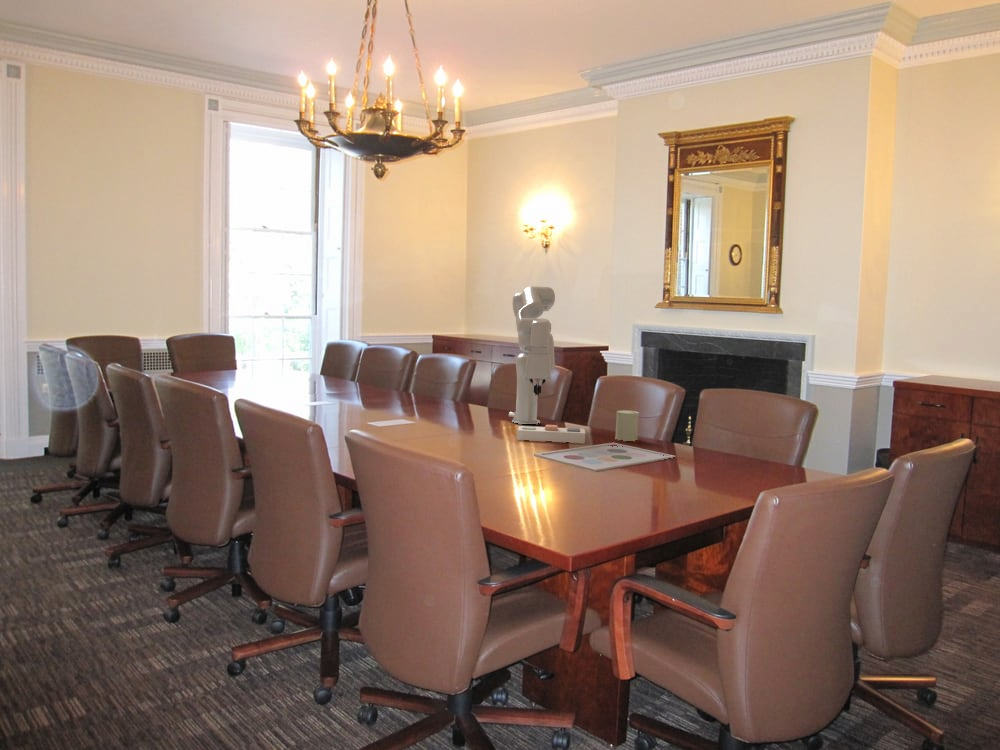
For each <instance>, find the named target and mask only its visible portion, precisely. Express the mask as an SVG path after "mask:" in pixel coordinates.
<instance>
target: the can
mask: <svg viewBox="0 0 1000 750" xmlns="http://www.w3.org/2000/svg"><path fill="white" fill-rule="evenodd" d="M639 415H640V412H639V411H635V410H626V409H623V410H622V409H621V410H616V421H615V422H616V424H615V437H614V439H615V440H616V439H618V440H617V441H619V440H623V441H622V442H626V441H633V442H636V441H635V440H637V441H639V440H638V435H639V434H638V433H639V431H638V430H639Z"/></svg>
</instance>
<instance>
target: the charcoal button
mask: <svg viewBox="0 0 1000 750" xmlns="http://www.w3.org/2000/svg"><path fill="white" fill-rule="evenodd" d="M567 428H568V431H569V432H580V429H581V428H575V427H574V428H572V427H567Z"/></svg>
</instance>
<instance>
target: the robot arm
mask: <svg viewBox="0 0 1000 750" xmlns="http://www.w3.org/2000/svg"><path fill="white" fill-rule="evenodd" d="M555 300H556V294H555V290H554V289H553V288H552V287H550V286H549V287H548V286H527V287H525V288H524V289H523V290H522V292H517V293H515V294H514V295H513V297H512V310H513V313H514V317H515V325H516V331H517V339H518V341H517V342H518V348H519V350H520V351H522V352H523V353H520V354H518V355H517V356H516V358H515V369H516V399H515V402H516V403H515V411H514V412H512V411H510V412H509V413H508V417H511V418H512V417H513V418H512V420H511V422H512V423H513V422H514V423H513V424H515V423H518V424H517V425H522V424H536V425H539V424H540V423H541V421H540V419H537V417H538V397H539V396H540V394H541V393H542V386H543V384H545V383H547V382H551V381H552V379H551V378H552V377H551V375H552V374H553V373H554V372H555V365H556V364H555V363H556V362H555V360H556V359H555V344H554V336H553V334H552V333H551V331H552V323H551V322H550V321H549V319H547V318H540V317H541V316H542V315H543V314H544V312H549V311H550V310H551V309H552V307H553V306H554V304H555ZM537 380H539V382H537ZM538 423H539V424H538Z"/></svg>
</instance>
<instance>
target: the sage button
mask: <svg viewBox="0 0 1000 750" xmlns="http://www.w3.org/2000/svg"><path fill="white" fill-rule="evenodd" d="M522 426H523V429H526V430H535V427H536V426H533V425H522ZM532 426H533V427H532Z"/></svg>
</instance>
